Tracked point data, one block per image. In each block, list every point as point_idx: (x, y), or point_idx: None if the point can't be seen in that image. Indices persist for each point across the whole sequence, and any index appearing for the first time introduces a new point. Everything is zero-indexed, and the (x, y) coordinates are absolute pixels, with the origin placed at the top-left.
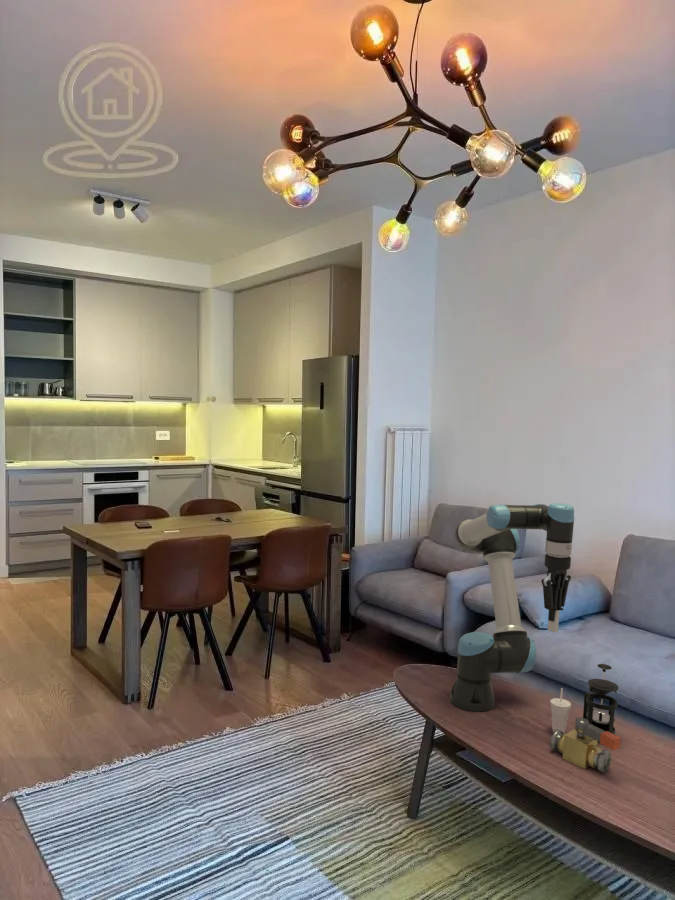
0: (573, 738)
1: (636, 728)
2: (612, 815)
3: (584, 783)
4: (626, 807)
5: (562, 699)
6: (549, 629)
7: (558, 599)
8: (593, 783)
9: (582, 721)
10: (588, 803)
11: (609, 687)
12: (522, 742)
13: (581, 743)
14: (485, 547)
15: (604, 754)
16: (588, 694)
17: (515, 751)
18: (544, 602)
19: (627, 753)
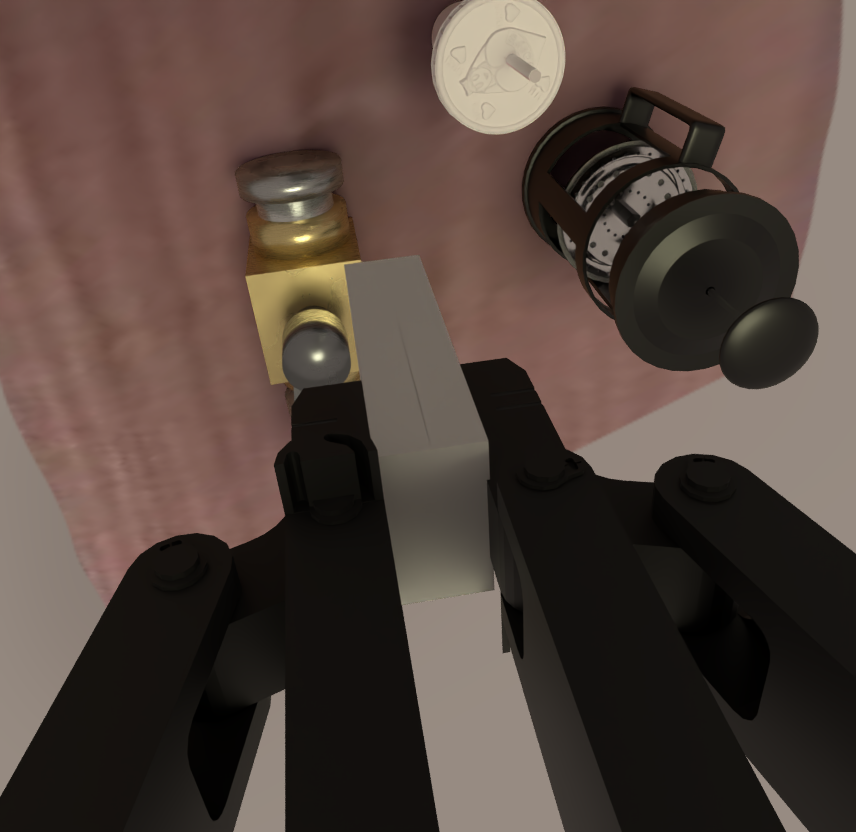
0: (259, 321)
1: (808, 221)
2: (114, 540)
3: (179, 393)
4: (200, 532)
5: (554, 38)
6: (349, 302)
7: (556, 773)
8: (214, 407)
9: (307, 372)
10: (86, 474)
11: (681, 343)
12: (176, 7)
13: (266, 358)
14: None
15: None
16: (683, 154)
17: (64, 58)
18: (68, 693)
19: (548, 333)
